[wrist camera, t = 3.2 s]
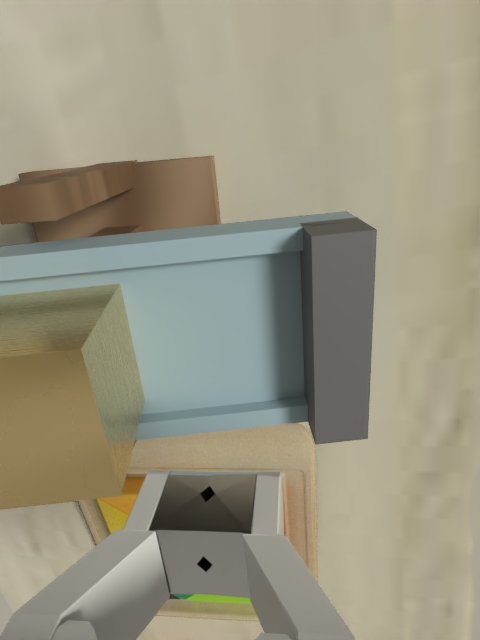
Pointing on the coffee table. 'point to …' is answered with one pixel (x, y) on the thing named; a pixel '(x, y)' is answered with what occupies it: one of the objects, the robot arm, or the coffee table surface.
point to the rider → (66, 396)
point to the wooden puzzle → (223, 456)
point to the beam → (233, 318)
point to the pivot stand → (114, 198)
